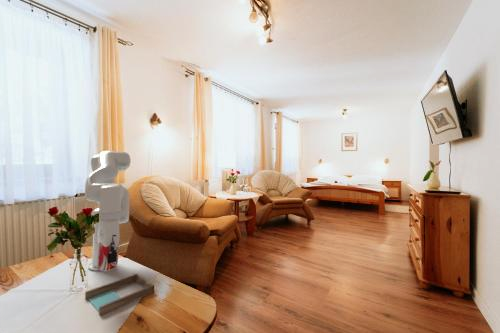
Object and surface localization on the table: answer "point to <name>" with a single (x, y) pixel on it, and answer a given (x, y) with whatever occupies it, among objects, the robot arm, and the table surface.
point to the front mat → (103, 299)
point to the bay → (124, 300)
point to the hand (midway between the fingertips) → (108, 259)
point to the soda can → (105, 258)
